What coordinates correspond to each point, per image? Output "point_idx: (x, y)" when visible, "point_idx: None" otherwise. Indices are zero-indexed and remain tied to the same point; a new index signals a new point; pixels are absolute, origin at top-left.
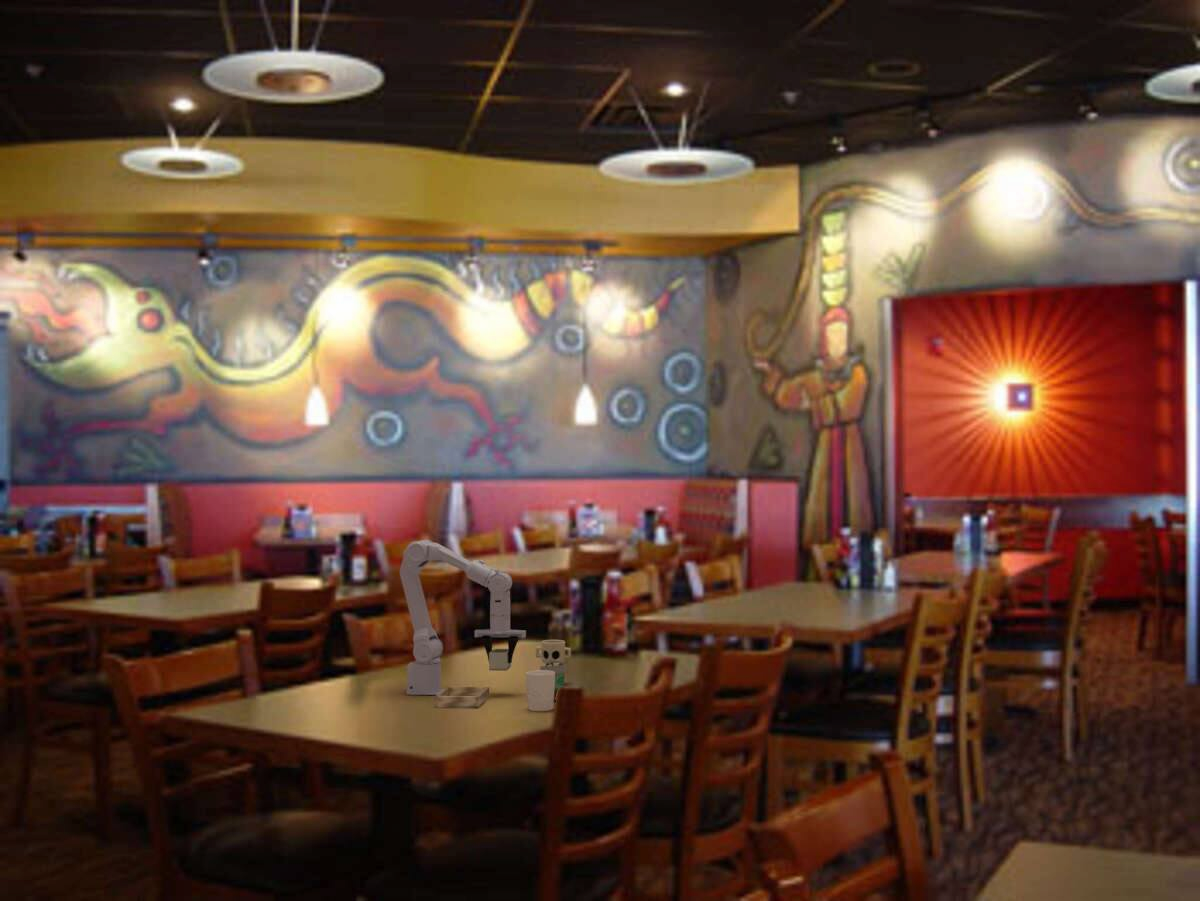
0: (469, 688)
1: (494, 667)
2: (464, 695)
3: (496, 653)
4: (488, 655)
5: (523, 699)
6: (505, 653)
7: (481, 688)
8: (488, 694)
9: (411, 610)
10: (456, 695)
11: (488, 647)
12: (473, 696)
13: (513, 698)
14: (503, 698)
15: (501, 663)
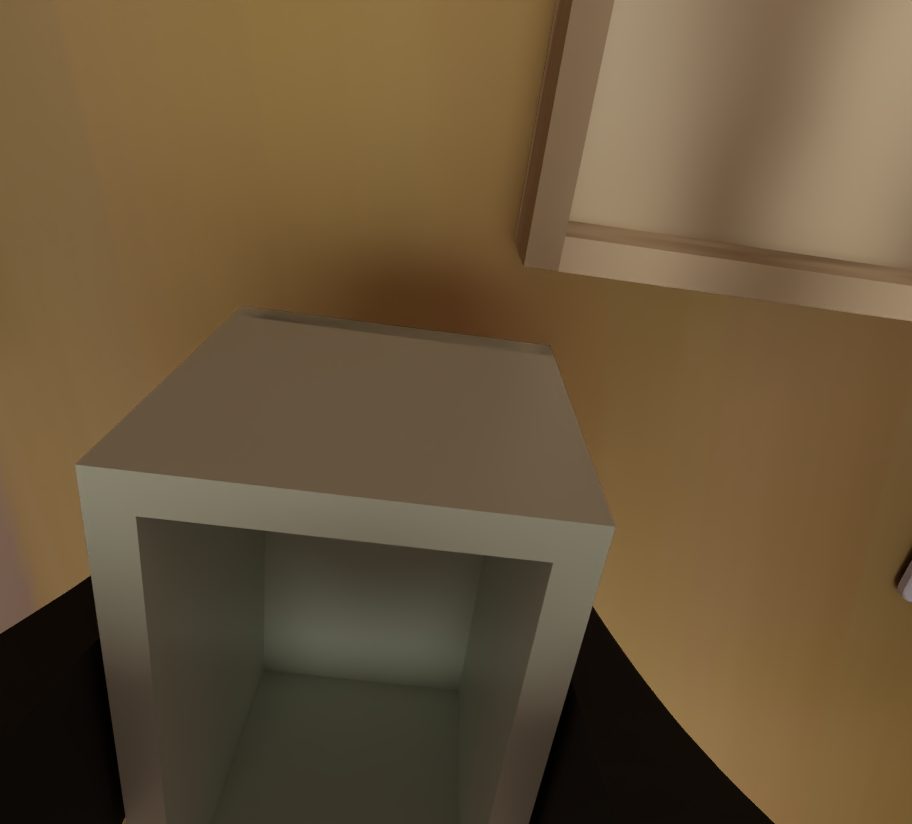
0: (765, 260)
1: (457, 350)
2: (785, 253)
3: (394, 492)
4: (597, 642)
5: (136, 129)
6: (117, 457)
7: (619, 242)
8: (527, 193)
9: None
10: (869, 263)
11: (647, 794)
12: (688, 224)
13: (257, 199)
14: (363, 204)
15: (307, 360)
